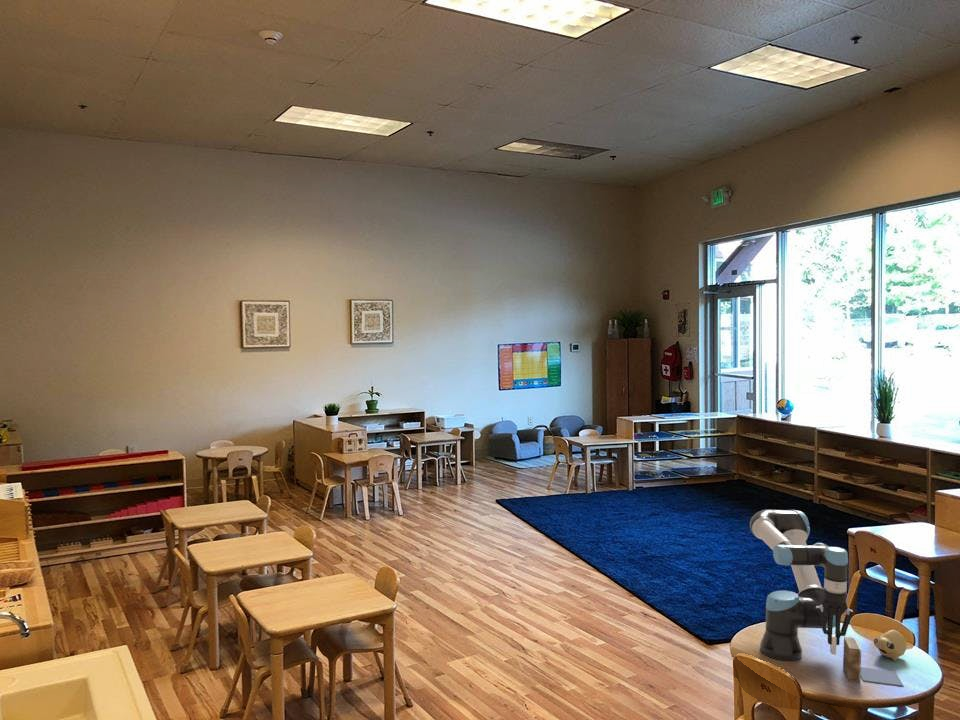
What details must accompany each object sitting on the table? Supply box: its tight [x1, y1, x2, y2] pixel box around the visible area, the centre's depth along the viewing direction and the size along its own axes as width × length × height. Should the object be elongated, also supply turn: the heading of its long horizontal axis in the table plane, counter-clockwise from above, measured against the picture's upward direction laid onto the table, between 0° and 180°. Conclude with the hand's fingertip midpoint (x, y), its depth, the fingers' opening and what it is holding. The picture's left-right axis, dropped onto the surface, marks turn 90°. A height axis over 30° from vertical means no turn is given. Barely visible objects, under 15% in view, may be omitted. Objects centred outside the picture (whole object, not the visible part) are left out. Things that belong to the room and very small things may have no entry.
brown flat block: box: [842, 636, 863, 683], centre depth 268 cm, size 4×10×12 cm, turn 164°
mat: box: [861, 666, 904, 687], centre depth 267 cm, size 13×11×1 cm
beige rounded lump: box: [873, 629, 907, 661], centre depth 282 cm, size 10×12×11 cm
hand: (833, 652), depth 269 cm, fingers closed
